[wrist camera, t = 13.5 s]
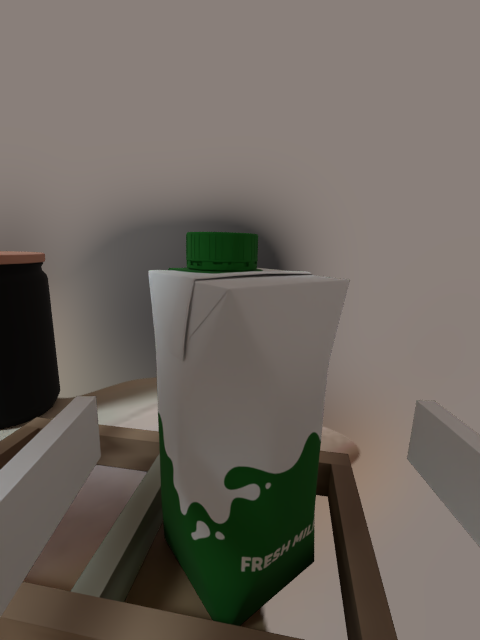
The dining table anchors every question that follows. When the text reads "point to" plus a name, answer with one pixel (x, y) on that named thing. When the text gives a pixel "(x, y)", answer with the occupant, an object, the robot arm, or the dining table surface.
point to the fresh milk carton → (240, 417)
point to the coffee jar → (25, 339)
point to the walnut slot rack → (136, 538)
